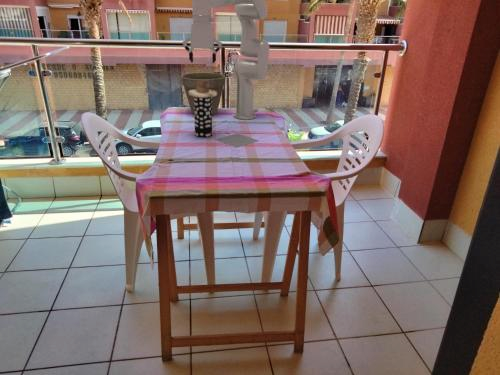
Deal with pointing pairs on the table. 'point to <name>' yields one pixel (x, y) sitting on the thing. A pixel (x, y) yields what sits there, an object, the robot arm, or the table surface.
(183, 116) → the table surface
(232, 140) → the mat
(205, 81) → the lid
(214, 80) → the plant pot
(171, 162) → the table surface
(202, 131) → the polka dot cylinder
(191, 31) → the robot arm
